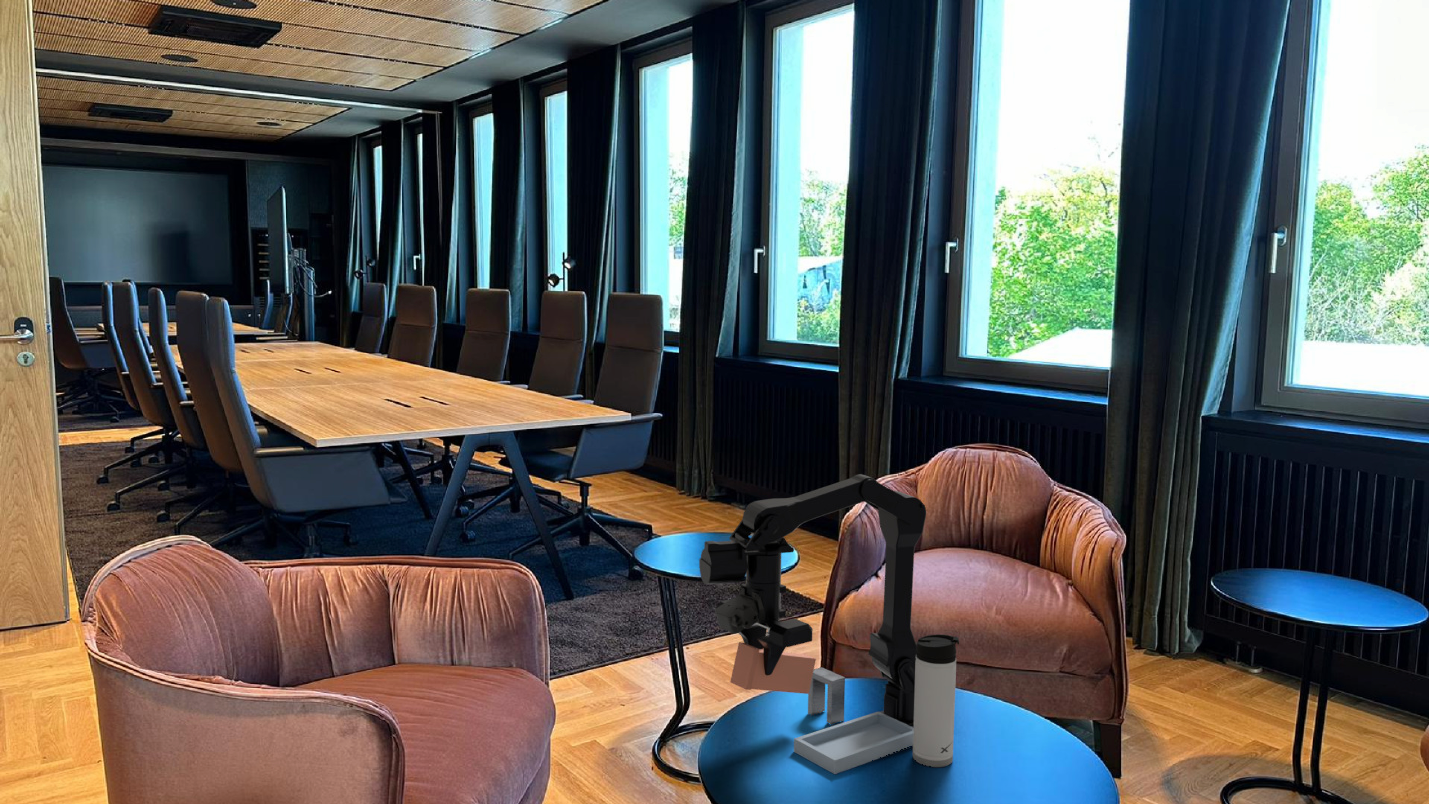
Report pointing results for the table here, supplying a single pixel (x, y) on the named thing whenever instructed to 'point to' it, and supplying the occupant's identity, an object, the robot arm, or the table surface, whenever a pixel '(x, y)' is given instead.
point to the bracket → (833, 695)
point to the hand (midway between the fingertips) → (761, 671)
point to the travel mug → (934, 700)
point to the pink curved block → (786, 676)
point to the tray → (854, 742)
